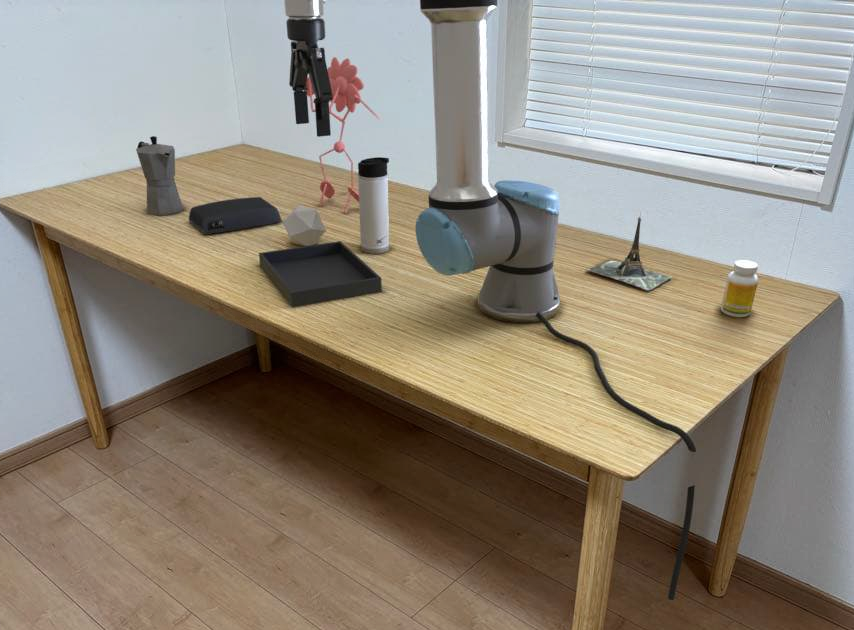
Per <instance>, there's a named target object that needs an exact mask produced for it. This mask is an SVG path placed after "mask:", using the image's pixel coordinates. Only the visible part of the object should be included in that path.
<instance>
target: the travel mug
mask: <svg viewBox="0 0 854 630" xmlns="http://www.w3.org/2000/svg"><path fill="white" fill-rule="evenodd" d="M389 162H390V158H389V157H379V156H377V157H369V158H365V159H362V160H360V161H359V162H358V163H357V170H358V171H357V179H358V180H357V182H358V183H357V184H358V193H359V202H358V207H359V208H358V209H359V217H360V218H359V230H360V250H361V251H362V252H363V253H366V254H370V255H378V254H383V253H387V252H388V251H389V250H390V226H389V177H388V175H389V174H388V164H389Z"/></svg>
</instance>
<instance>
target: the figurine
mask: <svg viewBox="0 0 854 630" xmlns="http://www.w3.org/2000/svg"><path fill="white" fill-rule="evenodd" d="M327 70H328V75H329V80H330V85H331V90H332V95H333V100H330V102H329V103H330V104H329V114H330V116H333V117H334V118H335V119H337V120H338V121H339V122H340V123H342V124H341V130H340V135H339V140H338V141H336V142H335V143H334V144H333V148H332V149H330V150H328V151H326V152H324V153H322V154H320V155H319V157H318V159H319V162H320V163H319V164H320V166H321V171H322V175H323V179H324V180H323V181H321V182H320V185H319V189H320V191H321V197H320V200H319V204H318V205H319V206H320V207H321V206H322V205H323V201H324V197H326V198H327V199H328V200H331V199H332V197H334V195H335V194H348V198H347V201H346V204H345V208H344V212H343V213H345V214H347V213H348V209H349V205H350V200H351V198H353V199H354V200H355V201H356V202H358V203H359V192H357V190H355V189H354V162H353V160H352V159H351V157H350V156H349V154H348V152H347V151H346V146H345V143H344V142H343V141H342V138H343V133H344V128H345V123H346V122H345V120H346V119H347V118H348V117H347V116H348V115H349V113H354V112H355V110H356V104H362V105H363V106H364V107H365V108H366V109H367V110H368V111H369V112H370V113H372V115H373V116H374V117H376V119H378V120H380V117H379V116H378V115H377V114H376V113H375V112H374V110H372V108H370V107H369V106H368V105H367V104H366V103H365V102H364V101H363V100H362V97H361V94H360V92H361V91H362V90H363V89H364V87H365V85H364V82H363V81H362V80H361V78H360V77H358V76H357V74H358V71H359V70H358V67H357V66H356V65H355V64H351V60H350V58H345V59H343V60H342V62H341V63H340V61H339V60H338V58H337V57H335V56H334V57H332V59H331V63H330V66H327ZM306 85H307V88H308V90H303V91H307V97H308V98H309V100H310V101H309V102H310V110H311V113H315V109H314V103H313V102H314V100H313V95H315V94H314V90H313V87H312V84H311V80H310V77H309V76H307V81H306ZM334 104H335V110H336V112H337V113H342V112H343V111H344V109H345V108H346V109H347V110H346V112H345V115H344V116H343V118H342V117H340V116H338V115H336V114H335V113H334V112H332V108H333V106H334ZM333 151H335V152H336V153H337V154H338V153H339V154H341V153H343V152H344V153H345V155H346V157H347V158H348V160H349V162H350V163H351V164H350V167H351V172H350V173H351V174H350V175H351V186H348V187H347V192H343V191H341V192H340V191H338V192H336V189H335V187H334V185H333V184H332V183H331V182H330V181H329V180H327V178H326V174H325V173H326V172H325V169H324V165H323V160H322V157H323V156H325V155H327V154H330V153H332V152H333ZM358 218H359V219H360V216H358Z"/></svg>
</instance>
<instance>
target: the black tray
mask: <svg viewBox="0 0 854 630" xmlns="http://www.w3.org/2000/svg"><path fill="white" fill-rule="evenodd" d="M258 258H259V266H260V269H262V270H263V272H264V273H265V274H266V276H267V277H268V278H269V280H270V281H271V282H272V283H273V284H274V286H275V287H276V288H277V290H278V291H279V292H280V293H281V294H282V296H283V297H284V298H285V300H286V301H287V302H288V303H289V305H290V306H291V307H292V308H295V307H301V306H307V305H313V304H318V303H324V302H331V301H334V300H341V299H346V298H347V299H348V298H352V297H358V296H363V295H364V296H365V295H369V294H370V295H371V294H375V293H382V292H383V291H382V277H381V276H380V275H379V274H378V273H377V272H375V270H373V268H371V267H370V266H369V265H368V264H367V263H365V262H364V260H362V259H361V258H360V257H359V256H358V255H357V254H356V253H355V252H354V251H353V250H351V249H350V248H349V247H348V246H347V244H345V243H343V241H342V240H338V241H331V242H325V243H318V244H313V245H310V246H298V247H297V246H296V247H291V248H284V249H277V250H270V251H263V252H259V253H258Z"/></svg>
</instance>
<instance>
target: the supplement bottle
mask: <svg viewBox="0 0 854 630" xmlns="http://www.w3.org/2000/svg"><path fill="white" fill-rule="evenodd" d="M758 268H759V264H758V263H757V262H755V261H751V260H745V259H740V260H736V261H734V264H733V268H732V269H733V271H731V272H729V273H728V274H727V277H726V282H725V286H724V292H723V296H722V301H721V305H720V310H721V312H722V313H723V314H725V315H727V316H729V317H733V318H746V317H748V316H749V315H750V314H752V313H751V312H752V310H753V309H752V308H753V304H754V301H755V297H756V291H757V288H758V283H759V277H758V275H757V274H756V273H757V272H758Z"/></svg>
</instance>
